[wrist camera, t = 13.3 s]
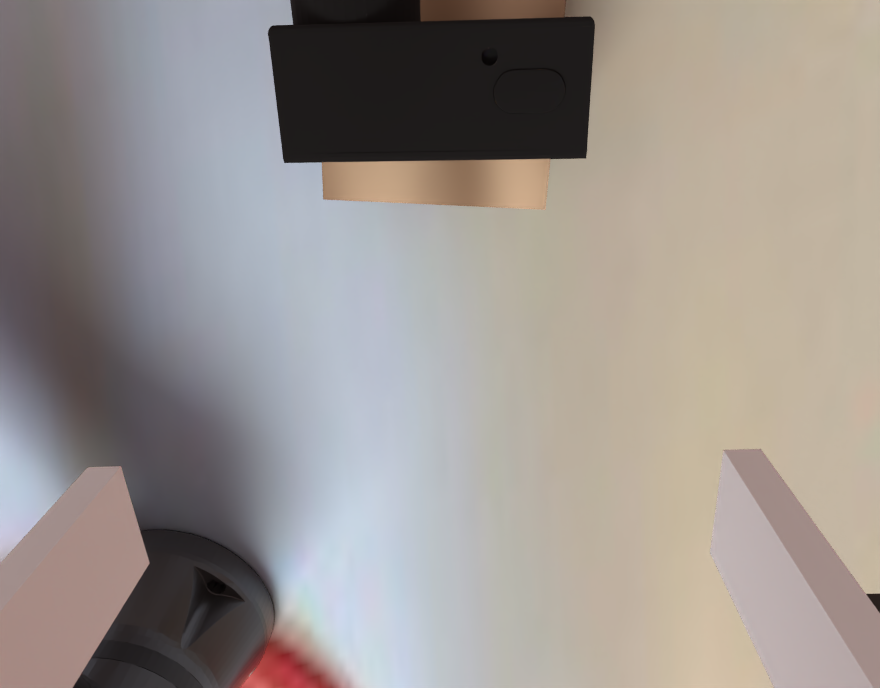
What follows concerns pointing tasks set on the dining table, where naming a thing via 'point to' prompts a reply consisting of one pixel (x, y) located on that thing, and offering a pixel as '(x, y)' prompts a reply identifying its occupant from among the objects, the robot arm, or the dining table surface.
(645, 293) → the dining table surface
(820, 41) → the dining table surface
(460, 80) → the digital camera
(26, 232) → the dining table surface
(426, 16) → the tower top
